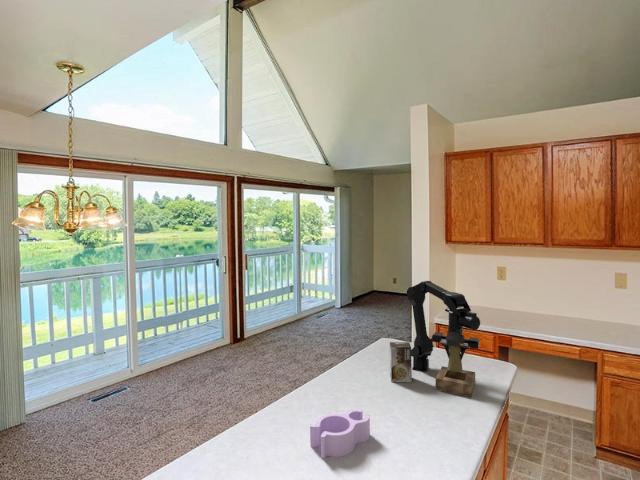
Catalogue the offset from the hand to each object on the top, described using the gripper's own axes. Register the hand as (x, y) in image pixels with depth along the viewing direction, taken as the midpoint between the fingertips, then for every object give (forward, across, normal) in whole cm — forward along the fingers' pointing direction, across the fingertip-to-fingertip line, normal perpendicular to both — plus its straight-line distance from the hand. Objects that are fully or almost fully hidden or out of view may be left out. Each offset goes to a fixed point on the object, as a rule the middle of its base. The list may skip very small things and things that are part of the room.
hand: (455, 359), depth 158 cm
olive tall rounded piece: (+4, 0, 0) cm, 4 cm away
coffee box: (+12, -23, -4) cm, 26 cm away
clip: (+12, -25, -58) cm, 64 cm away
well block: (+12, 0, 0) cm, 12 cm away
